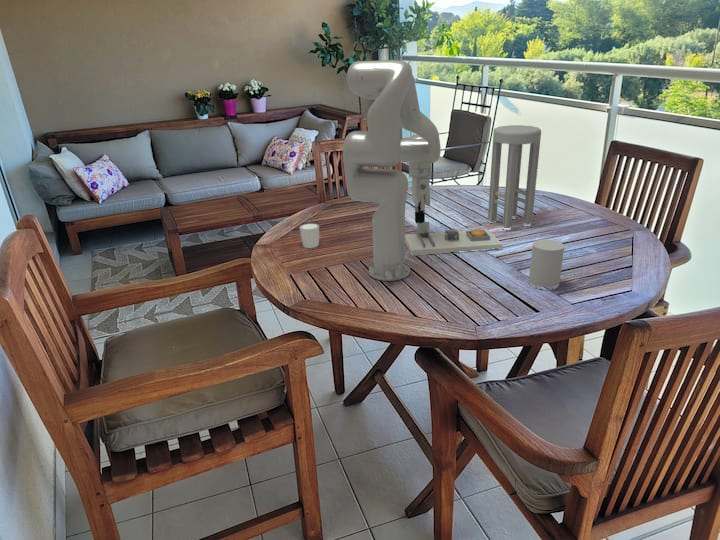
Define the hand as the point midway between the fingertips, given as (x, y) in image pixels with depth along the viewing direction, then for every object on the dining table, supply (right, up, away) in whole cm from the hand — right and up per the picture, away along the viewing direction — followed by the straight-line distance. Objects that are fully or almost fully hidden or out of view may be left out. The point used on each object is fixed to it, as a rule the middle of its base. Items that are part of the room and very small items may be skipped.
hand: (419, 222), depth 185 cm
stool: (+34, 0, +9) cm, 36 cm away
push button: (+19, -6, -8) cm, 21 cm away
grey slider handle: (+1, -5, -5) cm, 7 cm away
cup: (+31, -21, -38) cm, 53 cm away
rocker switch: (+10, -5, -9) cm, 14 cm away
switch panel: (+10, -8, -8) cm, 15 cm away
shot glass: (-39, -8, -3) cm, 40 cm away
